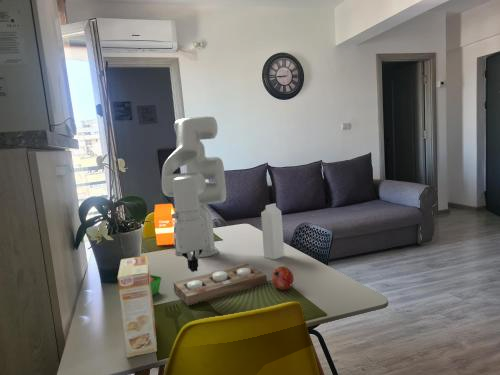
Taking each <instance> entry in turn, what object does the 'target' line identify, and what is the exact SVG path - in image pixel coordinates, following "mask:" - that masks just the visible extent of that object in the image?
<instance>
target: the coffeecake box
mask: <svg viewBox="0 0 500 375" xmlns="http://www.w3.org/2000/svg"><path fill="white" fill-rule="evenodd" d="M149 266H150V265H149V258H148V255H141V256H135V257H134V256H133V257H129V258H122V259H120V263H119V269H118V273H117V284H118V292H119V299H120V307H121V316H122V324H123V325H122V326H123V334H124V341H125V350H126V358H132V357H137V356H141V355H146V354H152V353H156V352H157V351H158V349H157V348H158V347H157V344H158V343H157V332H156V320H155V318H156V317H155V310H154V302H153V295H152V291H151V281H150V275H151V274H150V267H149Z"/></svg>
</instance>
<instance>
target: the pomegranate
mask: <svg viewBox="0 0 500 375" xmlns="http://www.w3.org/2000/svg"><path fill="white" fill-rule="evenodd" d="M294 278H295V277H294V274H293V272H292V270H291V269H289V267H287V266H286V265H285V266H284V265H282V266H279V267H277V268H276V269H274V270H273V272H272V275H271V284H272V285H273V286H274V287H275V288H276V289H278V290H280V291H287V290H289V289H290V288H291V287H292V286H291V285H293V282H294V280H295V279H294Z"/></svg>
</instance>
